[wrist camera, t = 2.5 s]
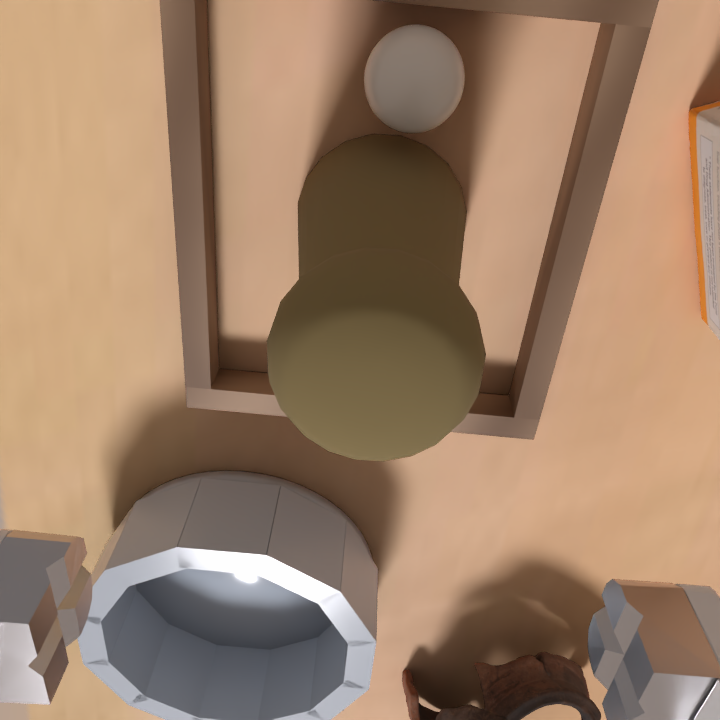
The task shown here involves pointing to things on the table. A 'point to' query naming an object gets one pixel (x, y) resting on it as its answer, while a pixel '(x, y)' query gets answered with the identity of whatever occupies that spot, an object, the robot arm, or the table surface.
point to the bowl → (234, 602)
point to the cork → (378, 305)
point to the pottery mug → (515, 690)
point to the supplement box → (707, 206)
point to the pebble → (414, 78)
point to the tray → (563, 248)
